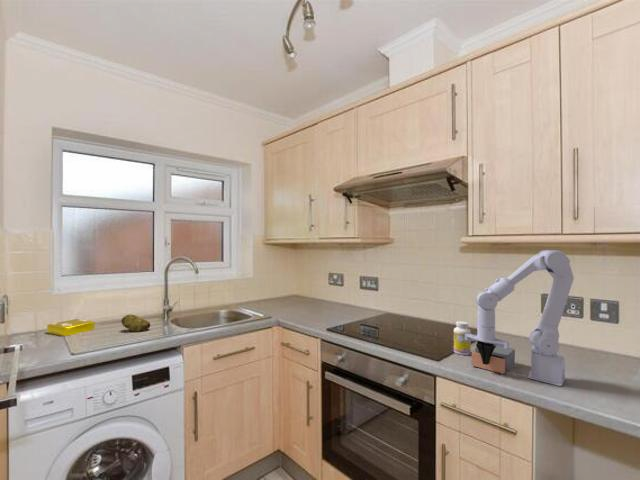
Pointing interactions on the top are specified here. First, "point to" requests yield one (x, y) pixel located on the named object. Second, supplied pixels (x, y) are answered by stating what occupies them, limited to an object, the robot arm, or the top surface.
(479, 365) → the drawer
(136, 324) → the potato
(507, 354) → the storage box
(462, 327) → the supplement bottle
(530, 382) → the top surface
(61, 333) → the element tile
